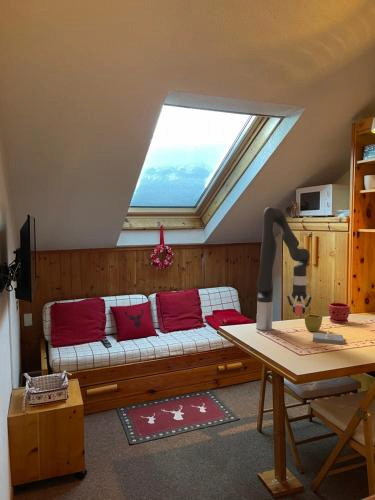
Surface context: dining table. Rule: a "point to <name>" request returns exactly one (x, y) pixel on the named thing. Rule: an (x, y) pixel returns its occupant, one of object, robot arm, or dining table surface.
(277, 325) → the dining table surface
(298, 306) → the socket housing
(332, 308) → the plant pot
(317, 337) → the pin board
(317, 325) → the flower pot
